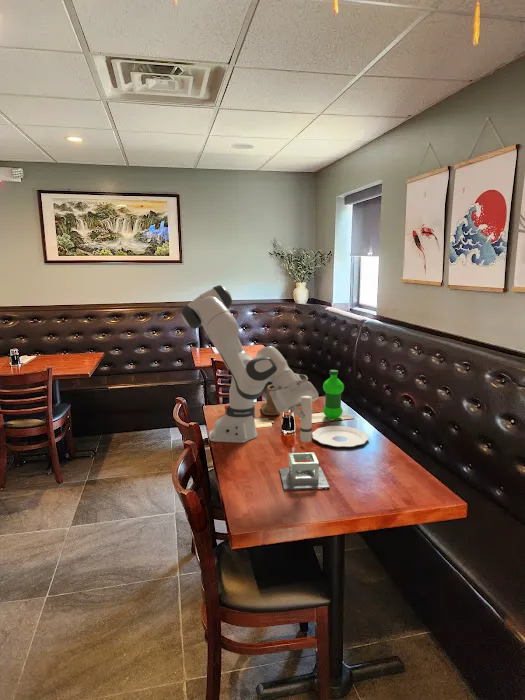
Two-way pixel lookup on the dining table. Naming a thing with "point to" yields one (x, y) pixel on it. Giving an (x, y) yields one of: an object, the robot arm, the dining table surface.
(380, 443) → the dining table surface
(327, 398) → the plastic bottle
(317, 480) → the collar holder
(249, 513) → the dining table surface
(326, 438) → the plate
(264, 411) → the stone cup
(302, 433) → the cream tall rounded cylinder
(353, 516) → the dining table surface
